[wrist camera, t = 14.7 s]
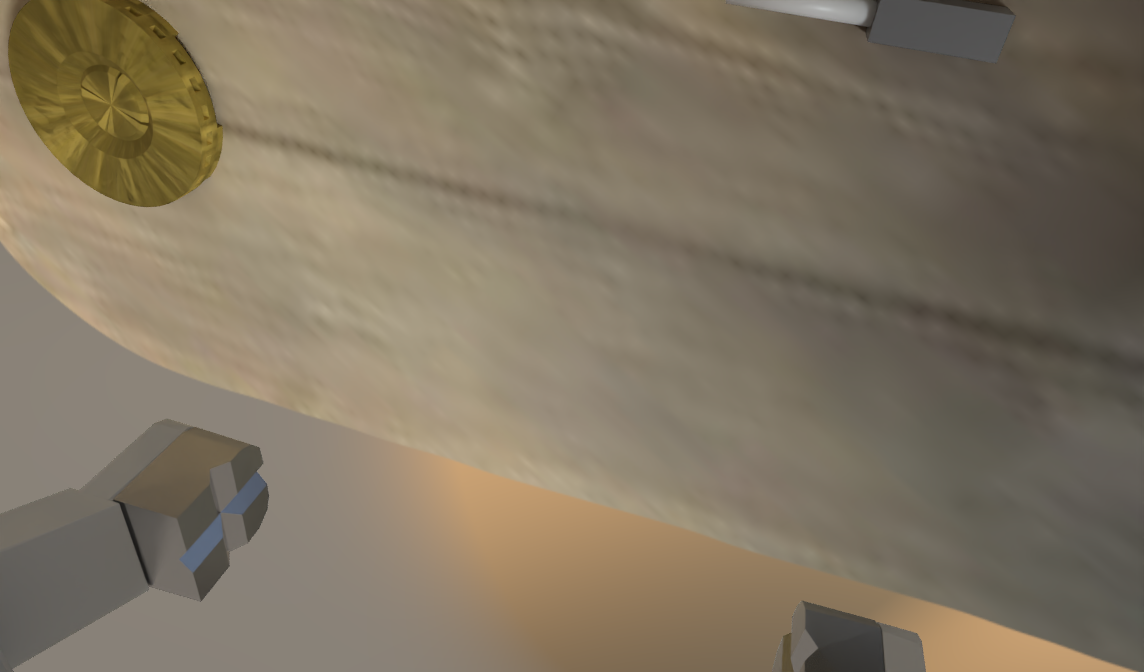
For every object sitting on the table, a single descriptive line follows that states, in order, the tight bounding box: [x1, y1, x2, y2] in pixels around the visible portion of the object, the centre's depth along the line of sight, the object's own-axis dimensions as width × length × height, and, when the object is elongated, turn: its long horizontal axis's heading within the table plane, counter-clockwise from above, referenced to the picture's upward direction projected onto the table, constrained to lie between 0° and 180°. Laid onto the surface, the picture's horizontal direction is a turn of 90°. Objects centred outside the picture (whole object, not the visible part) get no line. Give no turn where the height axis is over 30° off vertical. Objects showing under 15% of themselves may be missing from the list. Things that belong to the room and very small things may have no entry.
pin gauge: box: [726, 0, 1016, 63], centre depth 31 cm, size 11×2×2 cm, turn 84°
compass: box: [8, 0, 223, 207], centre depth 44 cm, size 12×12×2 cm
